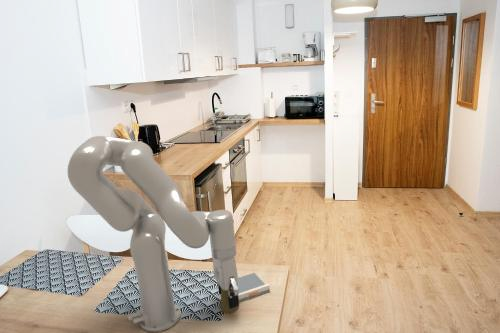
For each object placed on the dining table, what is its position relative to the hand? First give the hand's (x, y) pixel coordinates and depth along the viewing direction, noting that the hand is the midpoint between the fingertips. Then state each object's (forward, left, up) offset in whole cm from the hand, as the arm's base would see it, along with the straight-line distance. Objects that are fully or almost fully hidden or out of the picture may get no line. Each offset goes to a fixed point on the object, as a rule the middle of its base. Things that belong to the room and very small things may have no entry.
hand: (228, 299), depth 126 cm
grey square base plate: (+9, +7, -3) cm, 12 cm away
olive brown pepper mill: (0, 0, -3) cm, 3 cm away
